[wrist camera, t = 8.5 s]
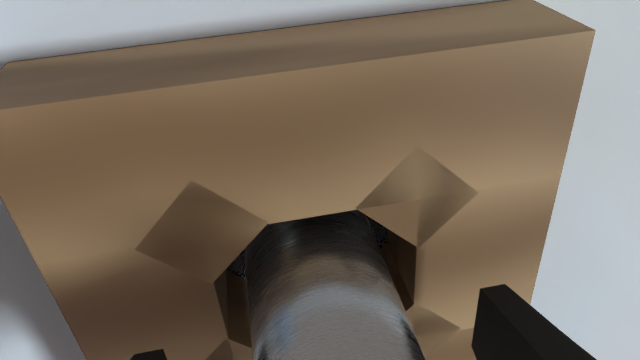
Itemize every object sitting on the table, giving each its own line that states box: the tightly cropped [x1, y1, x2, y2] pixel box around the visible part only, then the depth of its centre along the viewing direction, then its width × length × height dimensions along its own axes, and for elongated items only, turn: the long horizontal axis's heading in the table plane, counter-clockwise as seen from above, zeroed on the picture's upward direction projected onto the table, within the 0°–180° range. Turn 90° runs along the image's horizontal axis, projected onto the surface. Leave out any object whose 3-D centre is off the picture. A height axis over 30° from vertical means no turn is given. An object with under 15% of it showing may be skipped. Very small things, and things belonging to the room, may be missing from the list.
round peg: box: [244, 210, 425, 360], centre depth 12 cm, size 4×4×7 cm
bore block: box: [0, 0, 595, 360], centre depth 14 cm, size 12×12×3 cm
